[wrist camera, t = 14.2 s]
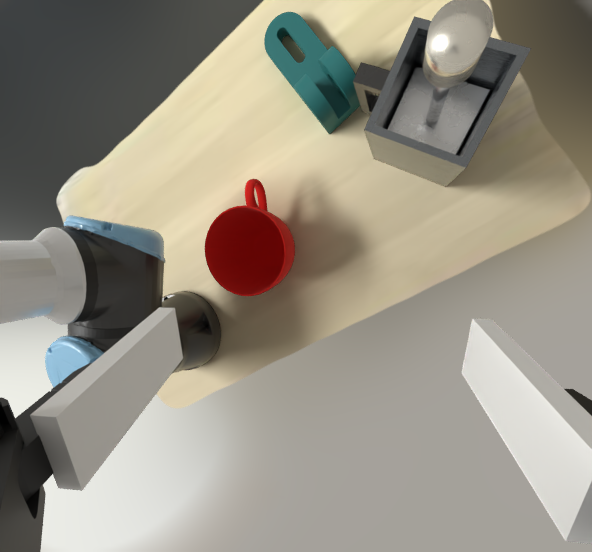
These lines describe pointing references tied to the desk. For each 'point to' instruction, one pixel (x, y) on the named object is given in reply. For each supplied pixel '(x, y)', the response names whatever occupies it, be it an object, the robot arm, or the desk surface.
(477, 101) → the plunger
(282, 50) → the bracket
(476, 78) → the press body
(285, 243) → the ceramic cup
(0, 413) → the robot arm
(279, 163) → the desk surface
